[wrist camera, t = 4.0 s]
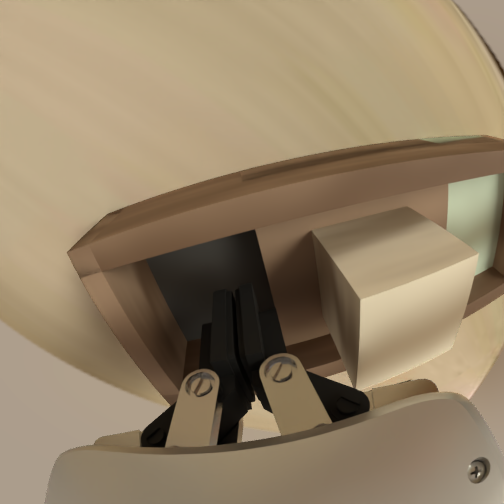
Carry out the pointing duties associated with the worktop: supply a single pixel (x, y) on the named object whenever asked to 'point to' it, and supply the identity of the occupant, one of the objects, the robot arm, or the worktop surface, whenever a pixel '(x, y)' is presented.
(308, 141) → the worktop surface
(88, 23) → the worktop surface
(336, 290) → the birch block
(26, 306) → the worktop surface
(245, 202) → the channel
